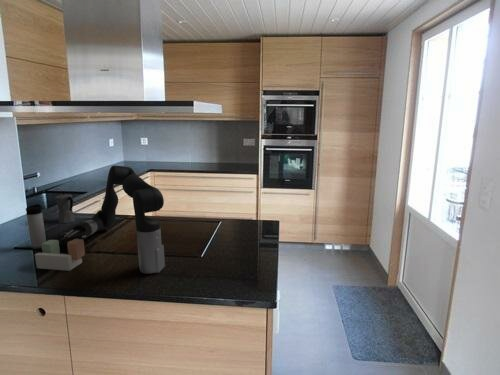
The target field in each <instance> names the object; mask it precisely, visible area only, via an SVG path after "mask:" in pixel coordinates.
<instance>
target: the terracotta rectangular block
mask: <svg viewBox="0 0 500 375" xmlns="http://www.w3.org/2000/svg"><path fill="white" fill-rule="evenodd" d="M66 246H67V255H71V258H72V259H79V258H83V257H84V256H86V250H85V241H84V239H74V240H72V241H70V242H67V244H66Z"/></svg>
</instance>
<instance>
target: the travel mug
mask: <svg viewBox="0 0 500 375" xmlns="http://www.w3.org/2000/svg"><path fill="white" fill-rule="evenodd" d="M25 211H26V213H25V214H26V221H27V227H28V233H29V240H30V247H31V249H33V250H38V249H42V246H41V244H42V243H44V242H46V241H47V238H46V231H45V223H44V216H43V210H42V205H40V204H39V203H37V204H36V203H35V204H34V205H29V206H27V207H26V208H25Z"/></svg>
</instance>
